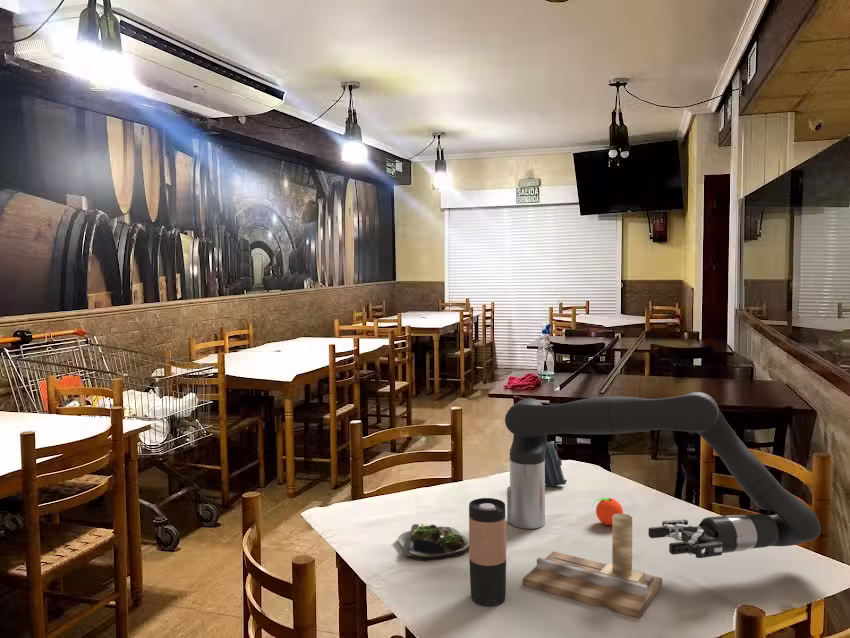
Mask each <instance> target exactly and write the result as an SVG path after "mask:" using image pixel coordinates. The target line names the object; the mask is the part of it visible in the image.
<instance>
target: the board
mask: <svg viewBox="0 0 850 638" xmlns="http://www.w3.org/2000/svg"><path fill="white" fill-rule="evenodd" d="M606 565H607V563H602V562H599V561H595V560H591V559H586V558H582V557H578V556H573V555H569V554H566V553H562V552H559V551H554V550H553V551H552V552H551V553H550V554H548V556H546V557H545V558H544V557H543V558H541V557H538V558H536V566H534V568H533V569H531V570H530V571H529V572H528V573H527V574H526V575H525V576H523V578H522V585H523V586H526V587H530V588H532V589H536V590H540V591H542V592H543V591H544V592H547V593H551V594H553V595H558V596H561V597H565V598H568V599H572V600H575V601H578V602H582V603H586V604H589V605H593V606H595V607H598V606H599V607H604V608H608V609H610V610H611V611H612V612H616V613H617V612H618V613H621V614H624V615H628V616H631V617H635V618H638V619H640V618H641V617H642V615H643V613H645V610H647V608H648V606H649V605H650V604H651V602H652V600H653V599H654V597H655V596H656V595H657V593H658V592H659V590H660V589H661V588H662V586H663V577H659V576H656V575H651V574H647V573H645V582H644V583H643V584H641V583H637V582H633V581H629V580H625V579H621V578H618V577H614V576H610V575H606V574H602V573H600V571H601V570H602V569H603V568H604V567H605V566H606ZM599 607H598V608H599Z"/></svg>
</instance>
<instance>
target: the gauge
mask: <svg viewBox="0 0 850 638" xmlns="http://www.w3.org/2000/svg"><path fill="white" fill-rule="evenodd" d="M611 526H612V535H611V536H612V550H611V551H612V553H611V557H612V558H611V559H612V560H611V561H612V562H611V563H606V564H607V565H606V566H605V567H604V568H603V569H602V570H601V571H600V573H602V574H606V575H610V576H614V577H618V578H621V579H625V580H629V581H633V582H637V583H641V584H643V583H644V582H645V574H646V572H644V571H641V570H637V569H633V516H631V515H630V514H627V513H623V514H614V515H613V516H612V525H611Z"/></svg>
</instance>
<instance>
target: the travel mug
mask: <svg viewBox="0 0 850 638" xmlns="http://www.w3.org/2000/svg"><path fill="white" fill-rule="evenodd" d="M468 503H469V504H468V540H469V549H468V560H469V561H468V562H469V563H468V564H469V578H470V579H469V581H470V597H471V601H472V602H473V603H475V605H479V606H482V607H497V606H500V605H502V604H503V603H504V602H505V601H506V595H507V593H506V592H507V590H506V588H507V587H506V586H507V532H506V531H507V529H506V528H507V525H506V523H507V522H506V521H507V520H506V519H507V518H506V517H507V515H506V504H505V502H504V501H503V500H500V499H498V498H493V497H482V498H481V497H480V498H476V499H472V500H471V501H470V502H468Z"/></svg>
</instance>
